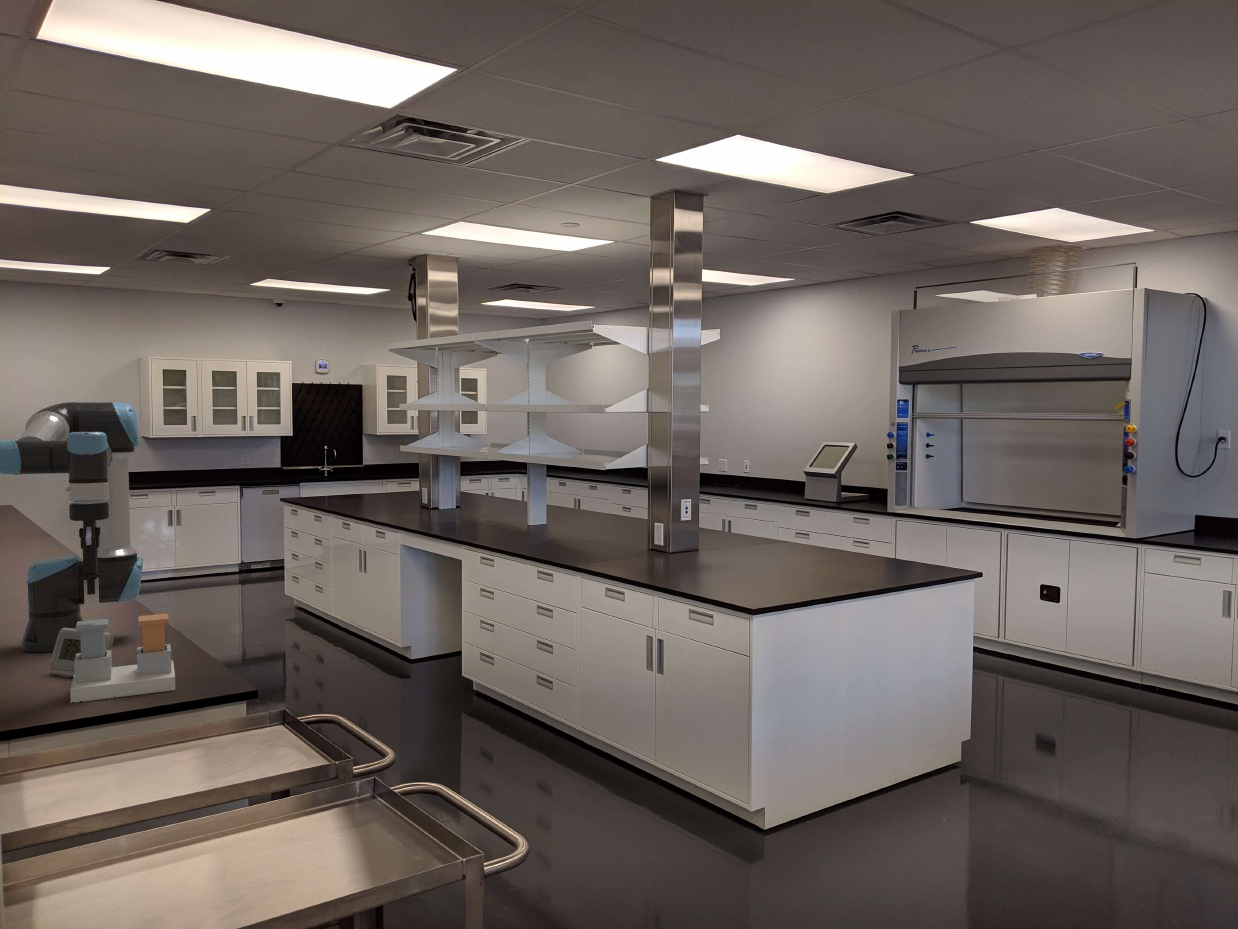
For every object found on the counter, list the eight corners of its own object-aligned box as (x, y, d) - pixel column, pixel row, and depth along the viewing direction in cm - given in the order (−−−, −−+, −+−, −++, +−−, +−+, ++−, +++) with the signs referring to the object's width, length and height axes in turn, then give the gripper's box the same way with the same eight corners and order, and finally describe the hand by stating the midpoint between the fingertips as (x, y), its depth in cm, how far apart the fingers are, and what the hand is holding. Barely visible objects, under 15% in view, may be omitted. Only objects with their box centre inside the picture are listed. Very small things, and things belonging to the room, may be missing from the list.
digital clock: (44, 675, 212) (43, 630, 211) (83, 666, 219) (82, 623, 219) (83, 685, 204) (82, 639, 203) (122, 675, 211) (121, 631, 211)
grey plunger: (78, 656, 200) (77, 621, 200) (109, 653, 203) (108, 618, 203) (76, 663, 195) (75, 627, 195) (108, 660, 198) (107, 624, 197)
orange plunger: (139, 650, 206) (138, 616, 205) (168, 647, 209) (167, 613, 208) (139, 656, 201) (138, 621, 200) (169, 653, 203) (168, 618, 203)
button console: (75, 684, 204) (74, 649, 204) (173, 673, 214) (172, 639, 213) (70, 703, 191) (69, 666, 191) (175, 690, 200) (174, 654, 200)
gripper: (71, 500, 201) (74, 604, 202) (66, 504, 190) (69, 615, 191) (109, 499, 205) (112, 601, 206) (107, 503, 193) (110, 612, 194)
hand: (91, 608), depth 198 cm, fingers closed
